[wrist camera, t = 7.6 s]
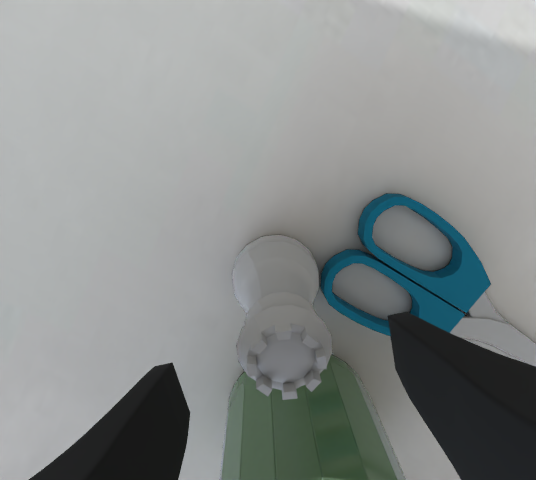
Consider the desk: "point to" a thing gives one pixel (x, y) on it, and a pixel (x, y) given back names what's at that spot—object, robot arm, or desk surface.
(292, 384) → the rook chess piece
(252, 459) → the planter
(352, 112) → the desk surface
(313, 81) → the desk surface
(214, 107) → the desk surface
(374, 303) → the desk surface
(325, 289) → the scissors
